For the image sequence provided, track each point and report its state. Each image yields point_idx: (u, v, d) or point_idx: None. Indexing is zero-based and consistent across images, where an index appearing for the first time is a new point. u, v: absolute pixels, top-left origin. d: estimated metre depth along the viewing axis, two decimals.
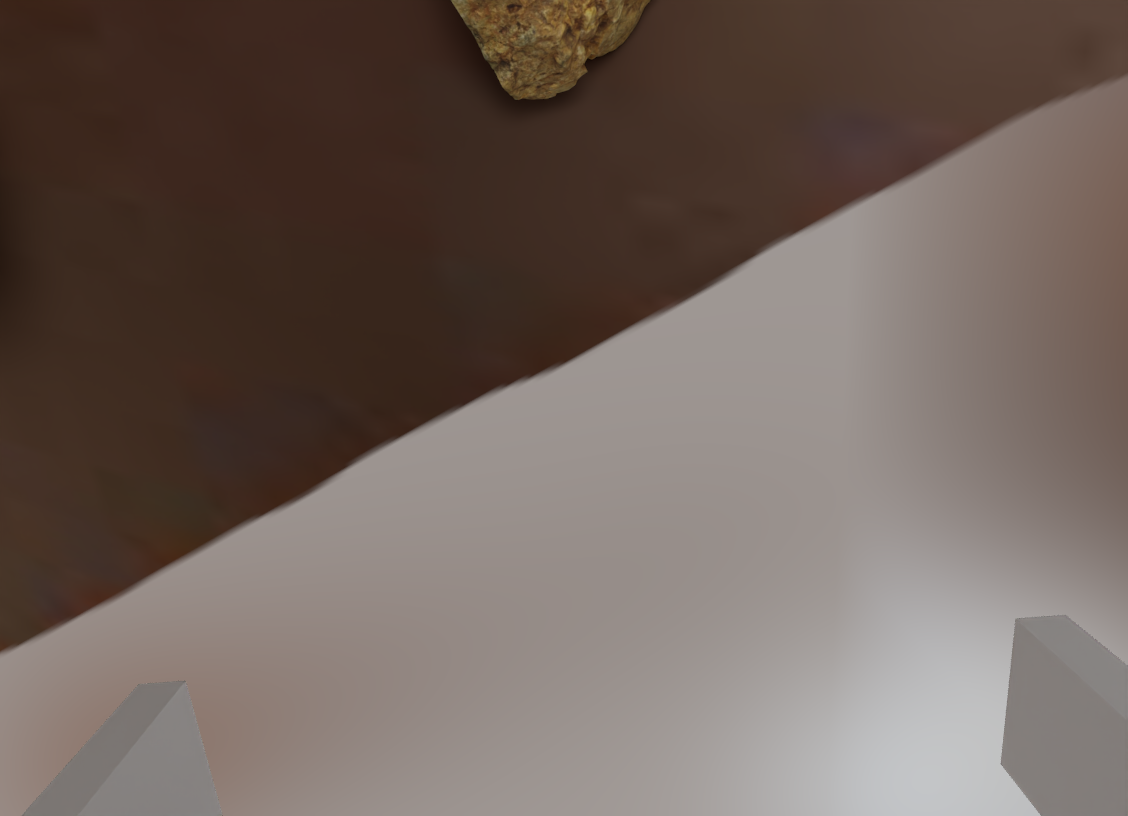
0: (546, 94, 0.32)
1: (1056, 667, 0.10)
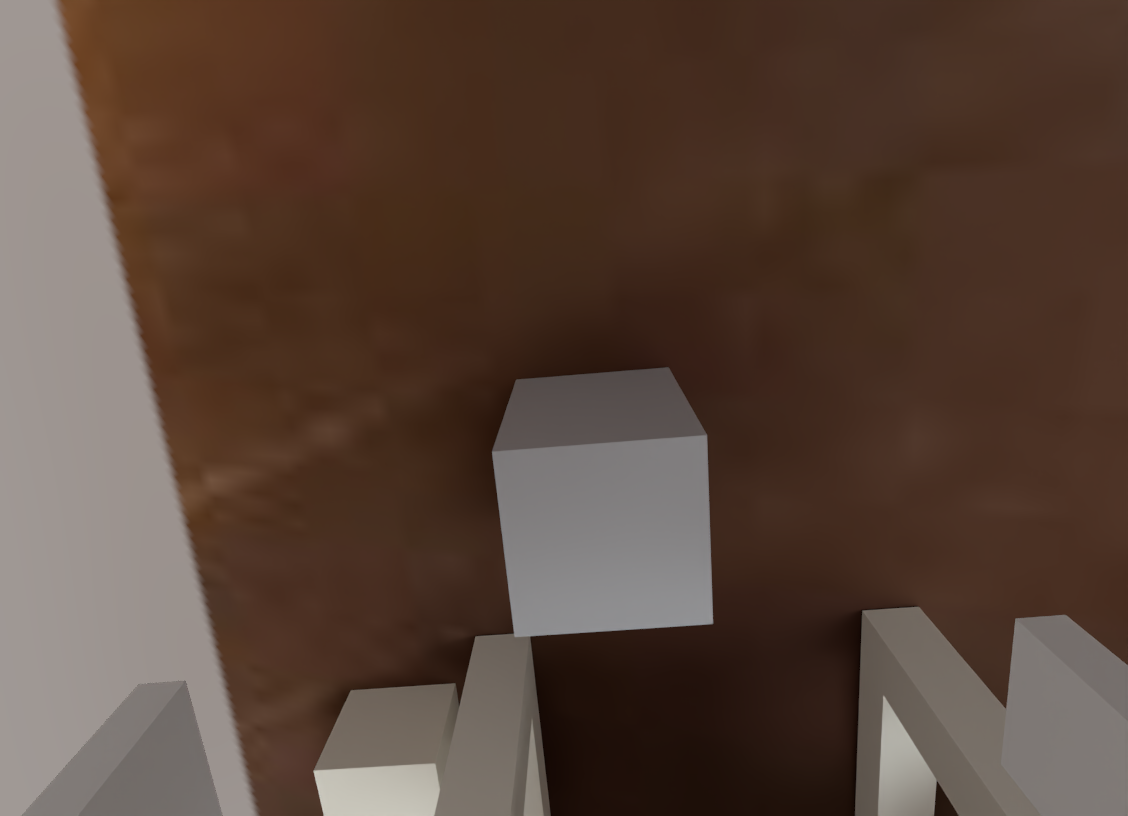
0: None
1: (1056, 667, 0.10)
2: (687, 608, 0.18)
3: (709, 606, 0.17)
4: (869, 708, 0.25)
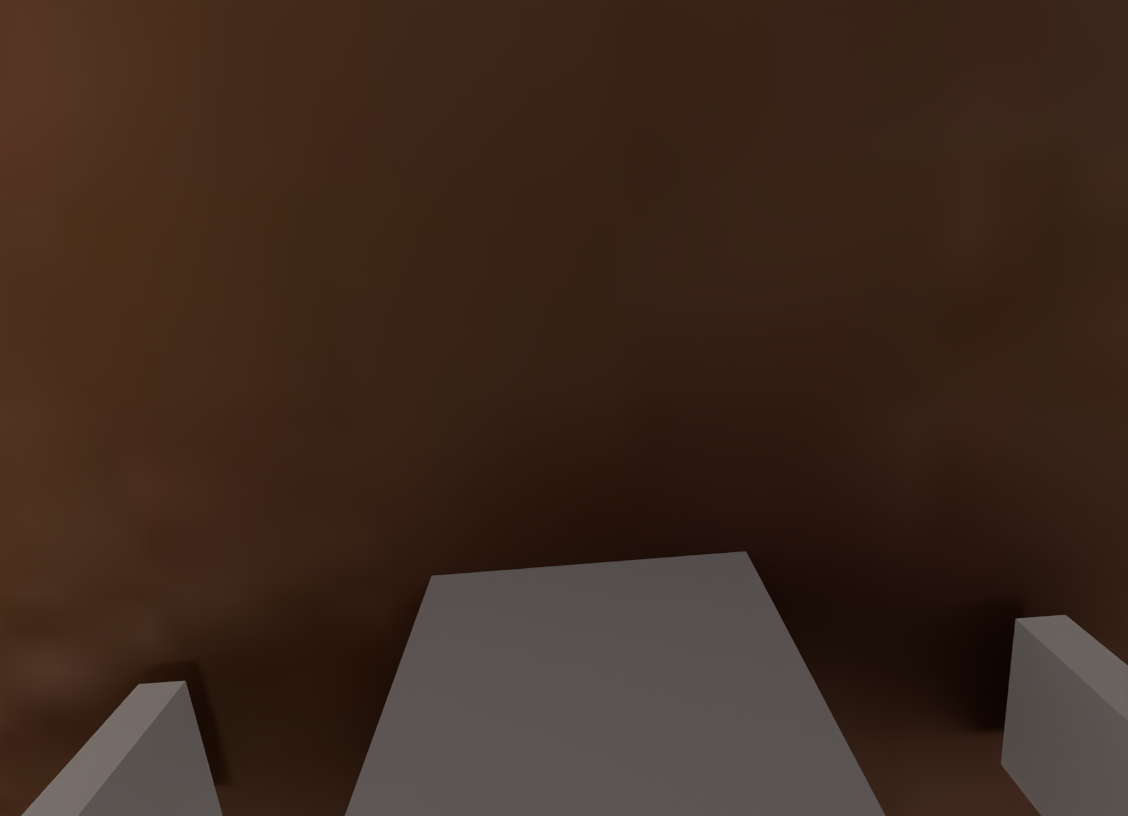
0: None
1: (1056, 667, 0.10)
2: None
3: None
4: None
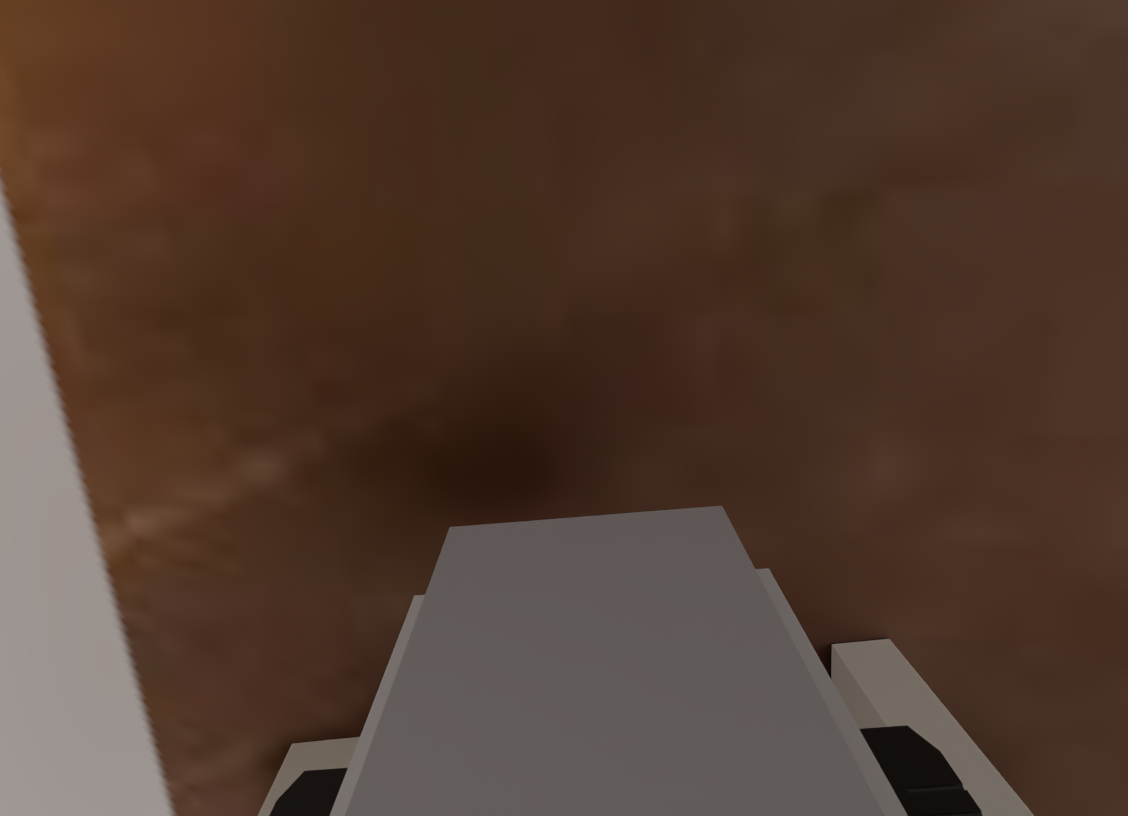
0: None
1: None
2: None
3: None
4: None
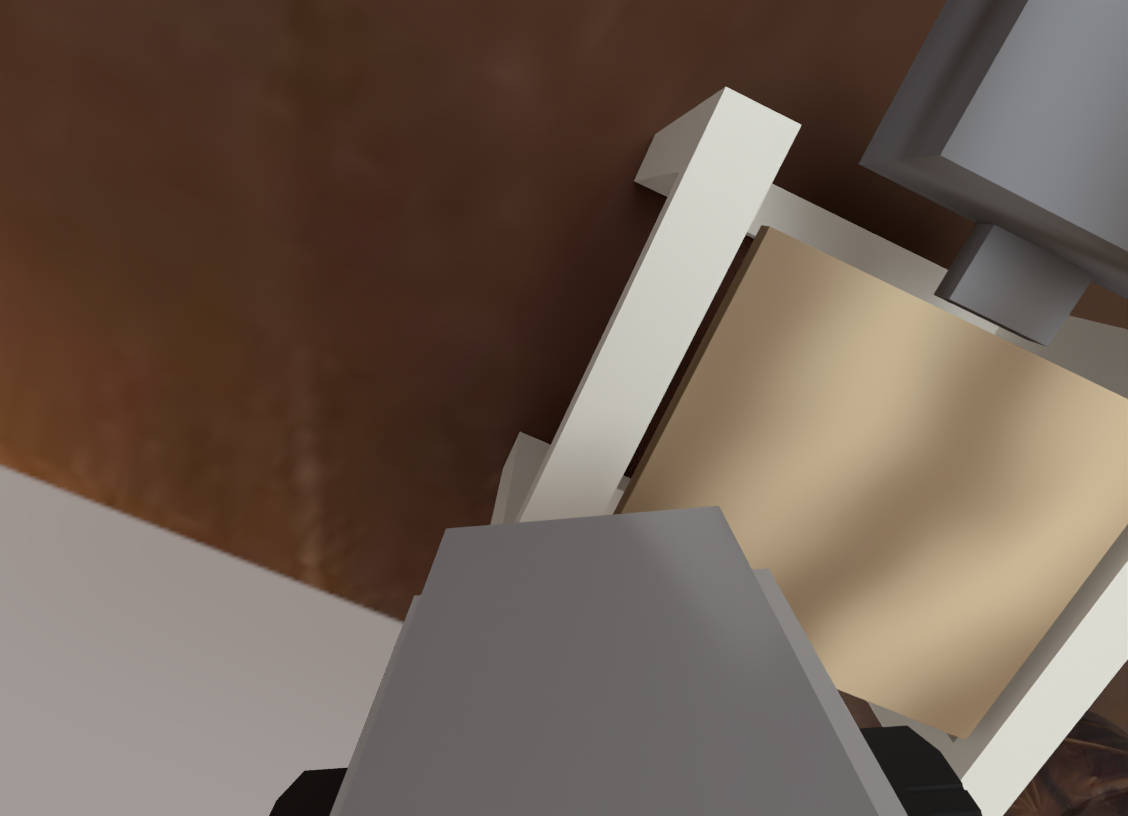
0: None
1: None
2: None
3: None
4: None
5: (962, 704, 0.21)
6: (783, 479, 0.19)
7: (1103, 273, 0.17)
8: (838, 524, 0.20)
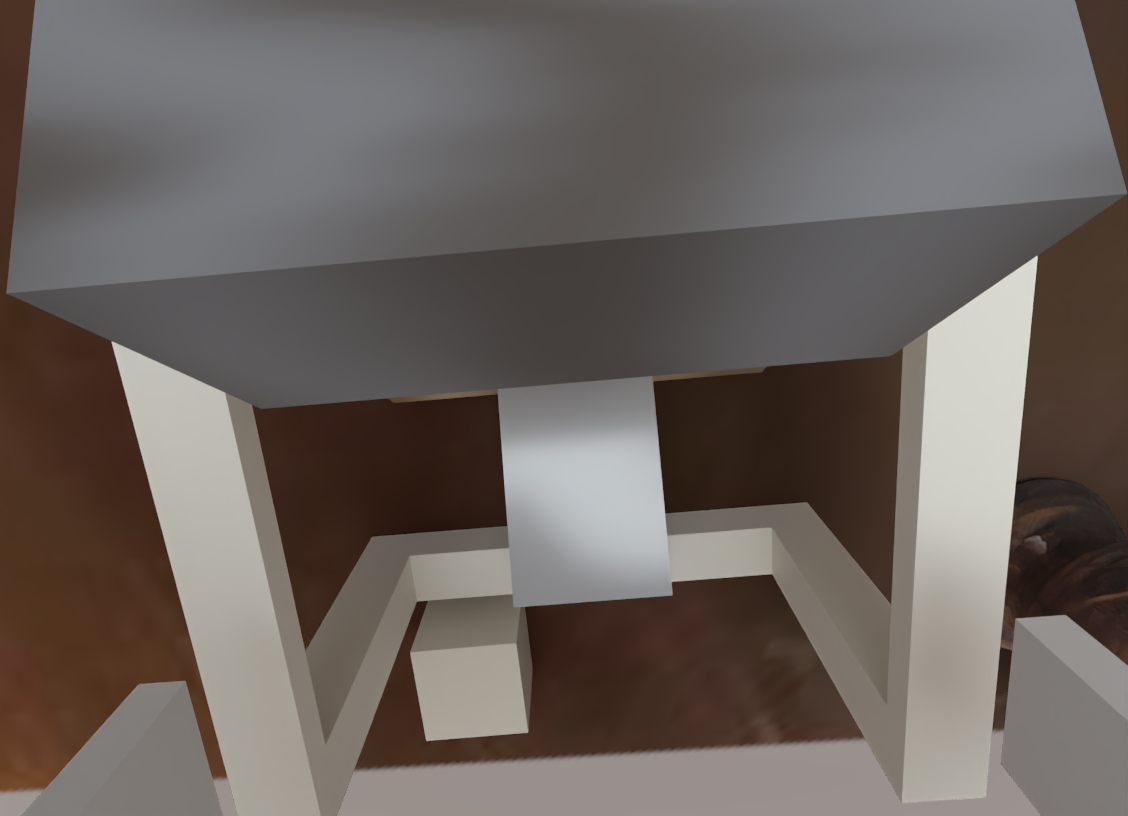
0: None
1: (1056, 667, 0.10)
2: None
3: None
4: None
5: None
6: None
7: None
8: None
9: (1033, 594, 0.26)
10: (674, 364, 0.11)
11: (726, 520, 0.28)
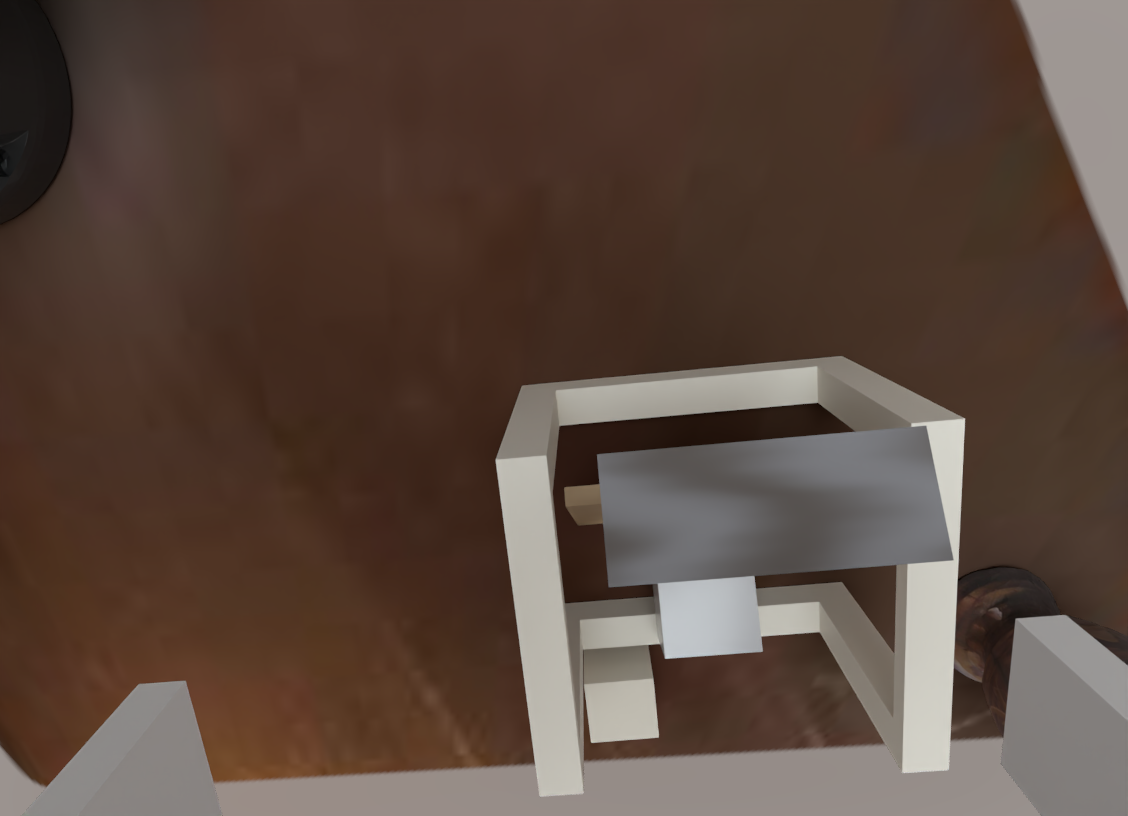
0: None
1: (1056, 667, 0.10)
2: None
3: None
4: None
5: None
6: None
7: None
8: None
9: (992, 647, 0.39)
10: None
11: (788, 595, 0.42)
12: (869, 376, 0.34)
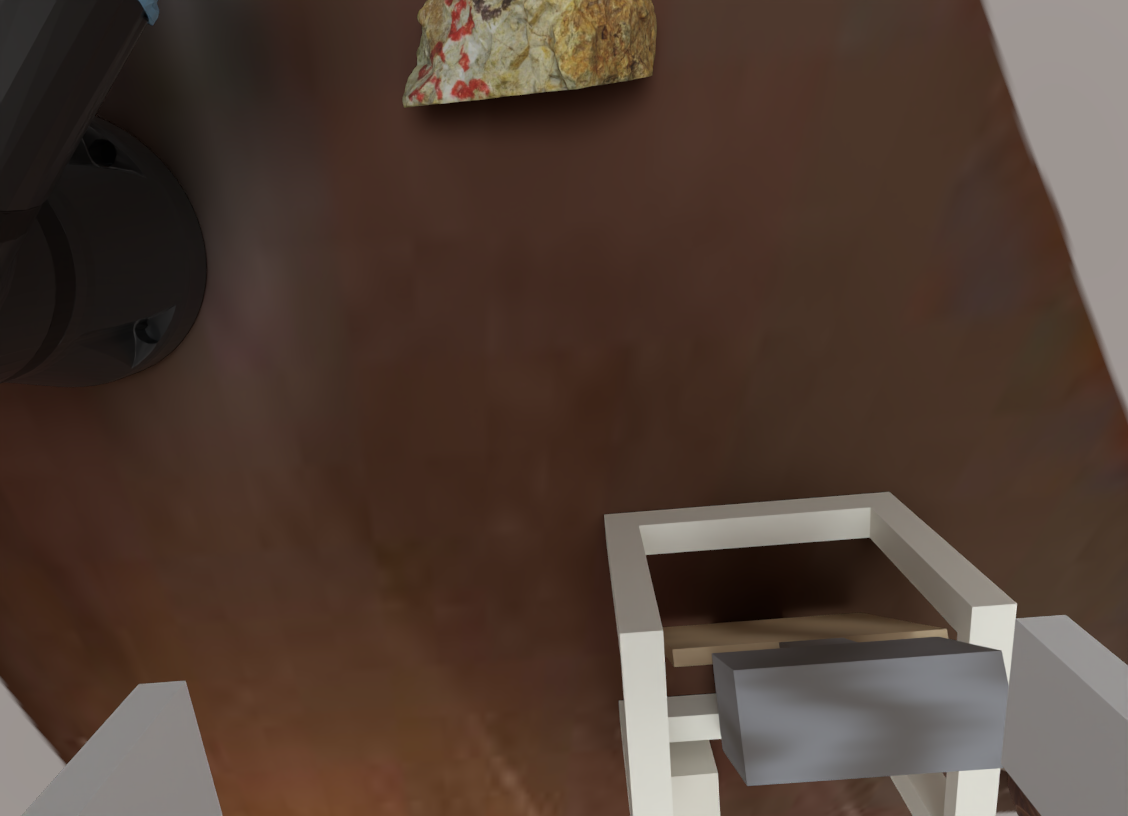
0: (654, 45, 0.35)
1: (1056, 667, 0.10)
2: None
3: None
4: None
5: None
6: None
7: None
8: None
9: None
10: None
11: None
12: (921, 528, 0.39)
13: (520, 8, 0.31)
